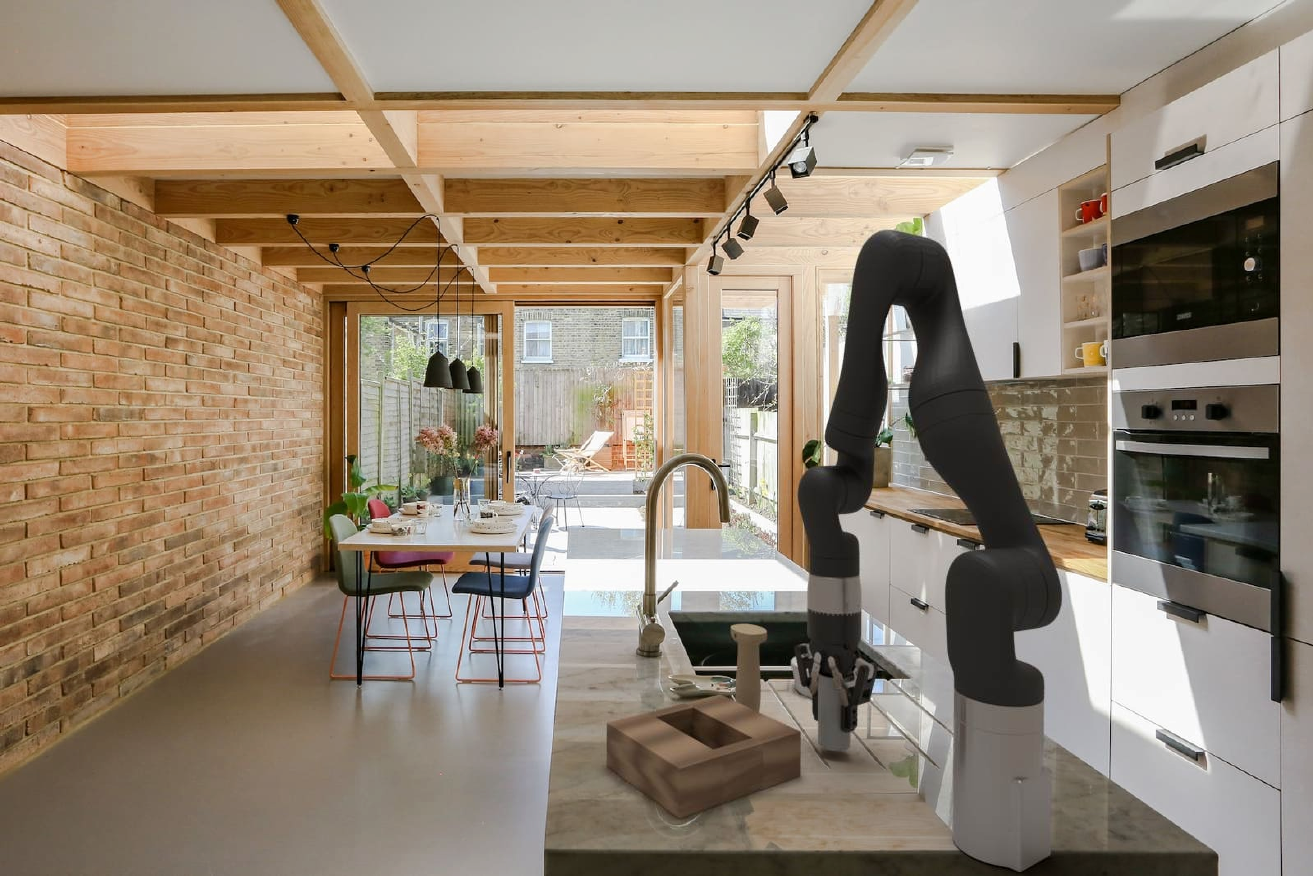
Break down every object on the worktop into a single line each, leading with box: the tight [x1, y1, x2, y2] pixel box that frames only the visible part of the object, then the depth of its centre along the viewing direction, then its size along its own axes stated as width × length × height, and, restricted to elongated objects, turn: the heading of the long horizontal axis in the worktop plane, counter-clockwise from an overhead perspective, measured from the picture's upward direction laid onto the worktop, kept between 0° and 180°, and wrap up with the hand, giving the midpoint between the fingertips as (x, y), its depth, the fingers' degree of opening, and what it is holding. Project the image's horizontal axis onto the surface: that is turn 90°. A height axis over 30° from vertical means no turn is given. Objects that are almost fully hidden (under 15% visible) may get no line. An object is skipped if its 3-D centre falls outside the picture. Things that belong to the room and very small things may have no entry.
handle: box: [730, 623, 768, 713], centre depth 121 cm, size 5×6×15 cm
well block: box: [606, 694, 802, 819], centre depth 105 cm, size 17×20×6 cm
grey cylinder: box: [817, 672, 852, 752], centre depth 110 cm, size 4×4×10 cm
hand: (834, 725), depth 110 cm, fingers closed on grey cylinder, 4 cm apart
